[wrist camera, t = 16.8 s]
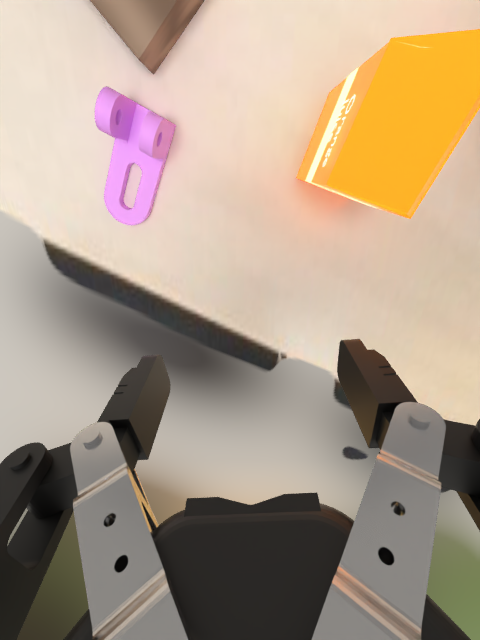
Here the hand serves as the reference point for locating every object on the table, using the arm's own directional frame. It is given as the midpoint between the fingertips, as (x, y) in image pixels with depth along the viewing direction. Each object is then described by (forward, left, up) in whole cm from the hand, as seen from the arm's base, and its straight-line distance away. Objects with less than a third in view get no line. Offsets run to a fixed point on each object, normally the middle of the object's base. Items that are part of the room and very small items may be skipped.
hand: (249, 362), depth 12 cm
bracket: (+13, -9, -28) cm, 32 cm away
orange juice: (-12, -8, -28) cm, 32 cm away
